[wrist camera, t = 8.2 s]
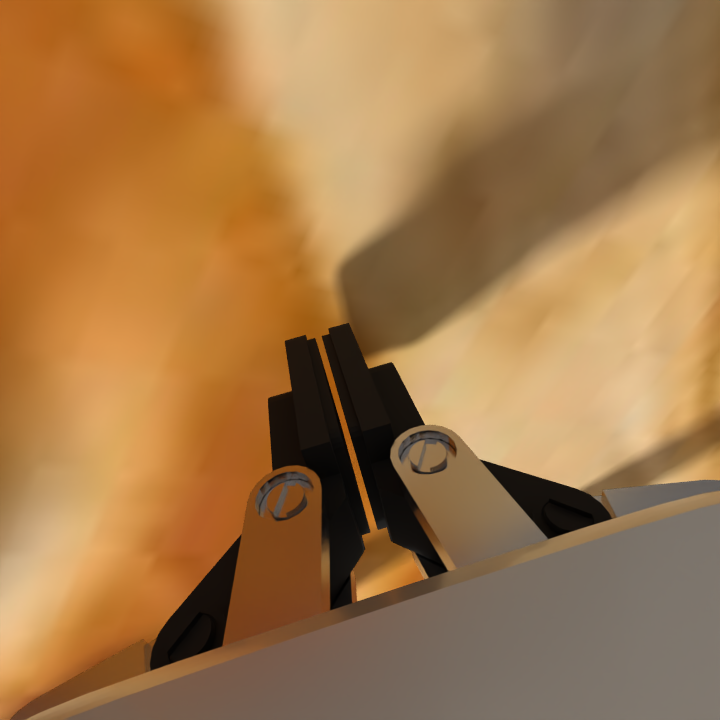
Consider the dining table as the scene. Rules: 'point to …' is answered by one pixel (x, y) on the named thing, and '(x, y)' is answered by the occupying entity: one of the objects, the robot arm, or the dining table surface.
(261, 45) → the dining table surface
